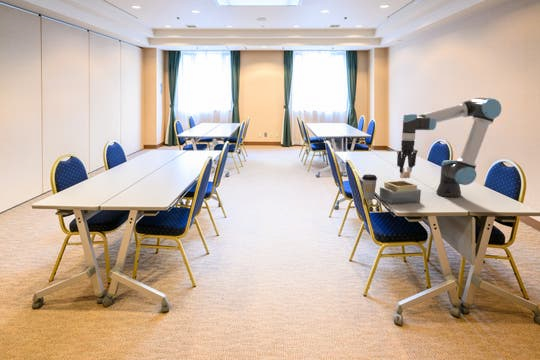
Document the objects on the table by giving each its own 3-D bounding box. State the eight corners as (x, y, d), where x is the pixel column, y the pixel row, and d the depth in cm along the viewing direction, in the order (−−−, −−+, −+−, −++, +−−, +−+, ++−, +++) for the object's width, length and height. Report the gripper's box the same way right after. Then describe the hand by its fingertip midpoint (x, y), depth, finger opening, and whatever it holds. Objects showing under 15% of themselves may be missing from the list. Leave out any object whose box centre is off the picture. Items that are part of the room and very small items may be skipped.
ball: (405, 177, 270) (406, 171, 270) (409, 178, 267) (410, 172, 266) (400, 177, 269) (400, 171, 268) (404, 179, 265) (404, 172, 265)
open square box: (406, 196, 282) (407, 180, 280) (419, 202, 269) (421, 185, 267) (379, 199, 276) (380, 182, 274) (391, 204, 263) (392, 187, 261)
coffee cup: (373, 201, 271) (375, 177, 268) (359, 199, 276) (360, 176, 272) (377, 198, 279) (379, 175, 276) (363, 196, 284) (364, 173, 280)
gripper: (416, 138, 269) (412, 175, 274) (392, 139, 264) (389, 177, 269) (423, 140, 262) (420, 178, 267) (399, 140, 257) (396, 179, 262)
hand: (405, 177), depth 268 cm, fingers closed on ball, 4 cm apart
